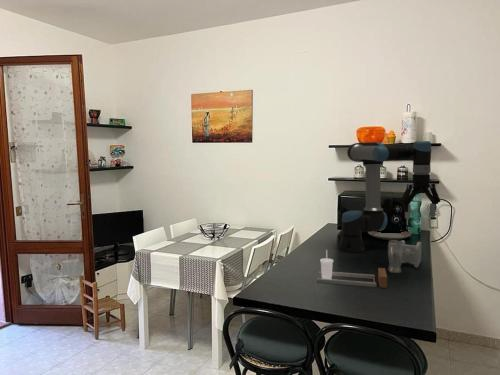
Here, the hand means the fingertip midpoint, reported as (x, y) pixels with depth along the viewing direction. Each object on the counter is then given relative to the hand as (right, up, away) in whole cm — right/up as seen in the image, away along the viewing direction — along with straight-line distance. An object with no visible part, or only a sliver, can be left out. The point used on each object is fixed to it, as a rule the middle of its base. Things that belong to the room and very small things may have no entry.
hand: (419, 217), depth 175 cm
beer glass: (-9, -27, +7) cm, 30 cm away
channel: (-34, -29, -5) cm, 45 cm away
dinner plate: (+14, -20, +76) cm, 80 cm away
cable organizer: (+2, -26, +17) cm, 31 cm away
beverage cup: (-45, -29, -2) cm, 54 cm away
